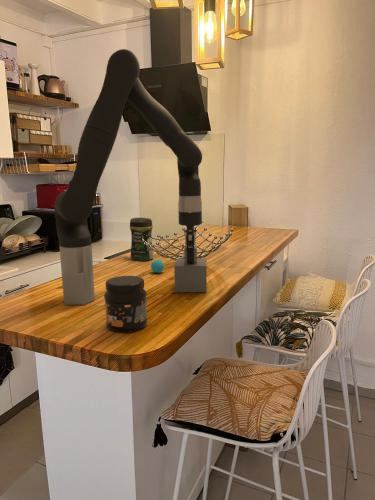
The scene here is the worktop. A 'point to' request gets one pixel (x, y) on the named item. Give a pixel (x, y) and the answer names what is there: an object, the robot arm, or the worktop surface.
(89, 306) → the worktop surface
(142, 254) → the coffee jar
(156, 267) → the ball
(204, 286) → the gray stepped pedestal
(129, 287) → the supplement container
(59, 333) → the worktop surface
